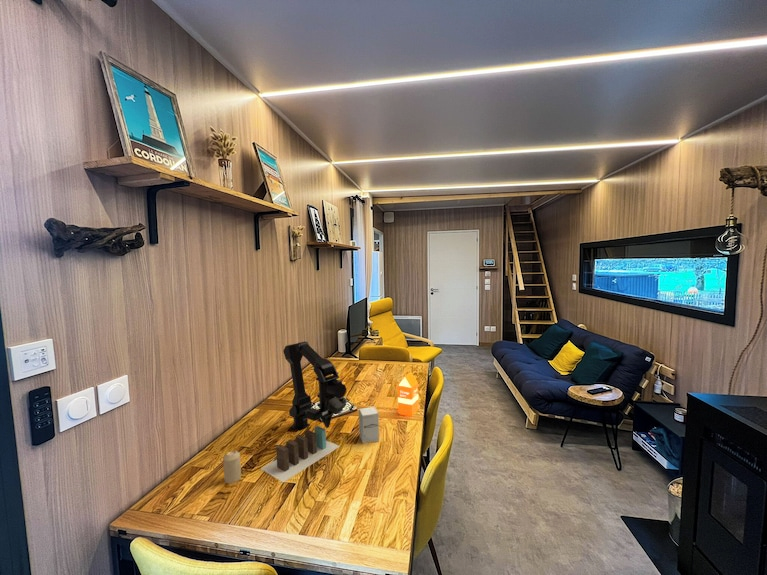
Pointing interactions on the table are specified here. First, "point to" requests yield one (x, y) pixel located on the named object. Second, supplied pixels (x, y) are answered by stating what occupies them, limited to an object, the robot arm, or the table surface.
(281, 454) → the domino
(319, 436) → the domino
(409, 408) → the orange juice
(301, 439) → the domino
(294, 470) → the mat
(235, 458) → the candle
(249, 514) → the table surface
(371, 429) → the supplement box
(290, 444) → the domino
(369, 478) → the table surface
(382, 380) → the table surface
